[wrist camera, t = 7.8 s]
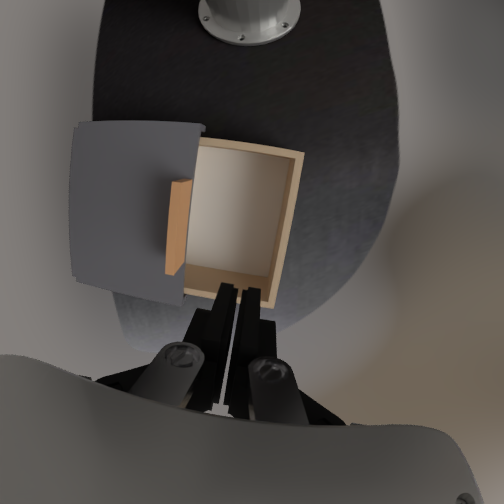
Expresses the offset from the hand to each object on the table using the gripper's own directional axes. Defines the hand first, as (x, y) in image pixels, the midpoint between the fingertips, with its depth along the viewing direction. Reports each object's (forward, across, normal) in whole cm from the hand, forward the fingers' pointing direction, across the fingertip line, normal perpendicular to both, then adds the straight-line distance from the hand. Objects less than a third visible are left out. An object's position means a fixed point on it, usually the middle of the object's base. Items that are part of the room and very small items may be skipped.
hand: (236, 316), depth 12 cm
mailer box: (+23, +3, 0) cm, 23 cm away
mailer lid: (+17, +13, 0) cm, 22 cm away
